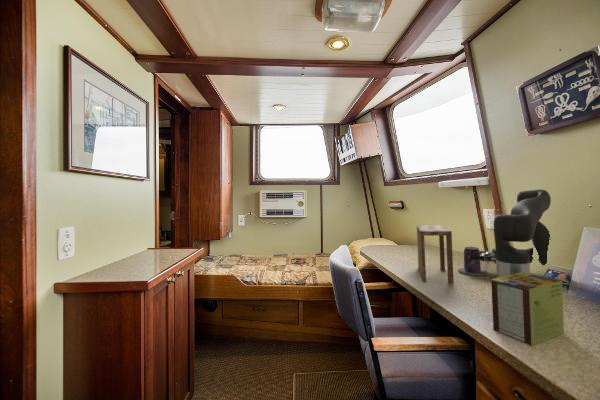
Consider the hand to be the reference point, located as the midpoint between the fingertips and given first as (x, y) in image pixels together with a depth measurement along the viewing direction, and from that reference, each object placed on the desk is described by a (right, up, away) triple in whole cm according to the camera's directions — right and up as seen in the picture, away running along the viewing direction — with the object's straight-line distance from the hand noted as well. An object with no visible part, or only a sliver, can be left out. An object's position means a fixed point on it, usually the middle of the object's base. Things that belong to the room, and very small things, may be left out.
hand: (467, 255), depth 142 cm
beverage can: (+2, -8, -1) cm, 9 cm away
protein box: (-19, -11, -61) cm, 65 cm away
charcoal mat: (+2, -9, -1) cm, 9 cm away
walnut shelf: (-18, -10, -2) cm, 21 cm away
